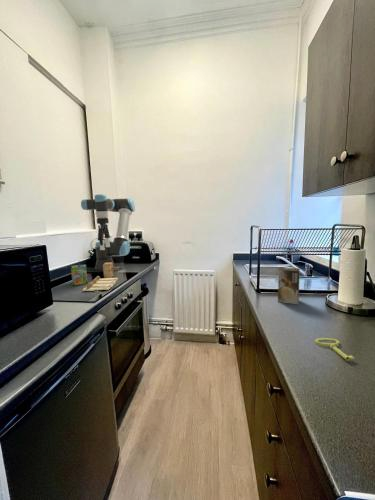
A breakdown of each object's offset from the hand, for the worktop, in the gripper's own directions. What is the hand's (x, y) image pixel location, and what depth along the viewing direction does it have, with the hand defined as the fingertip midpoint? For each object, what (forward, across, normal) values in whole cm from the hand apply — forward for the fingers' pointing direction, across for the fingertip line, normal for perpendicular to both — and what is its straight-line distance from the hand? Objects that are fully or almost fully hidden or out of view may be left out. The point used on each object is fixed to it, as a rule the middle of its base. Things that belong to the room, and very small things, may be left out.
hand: (105, 248), depth 157 cm
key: (+22, +98, +95) cm, 138 cm away
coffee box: (+21, +60, +101) cm, 119 cm away
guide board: (+21, +18, +1) cm, 28 cm away
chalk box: (+21, +10, -15) cm, 28 cm away
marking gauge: (+21, -1, +3) cm, 21 cm away
